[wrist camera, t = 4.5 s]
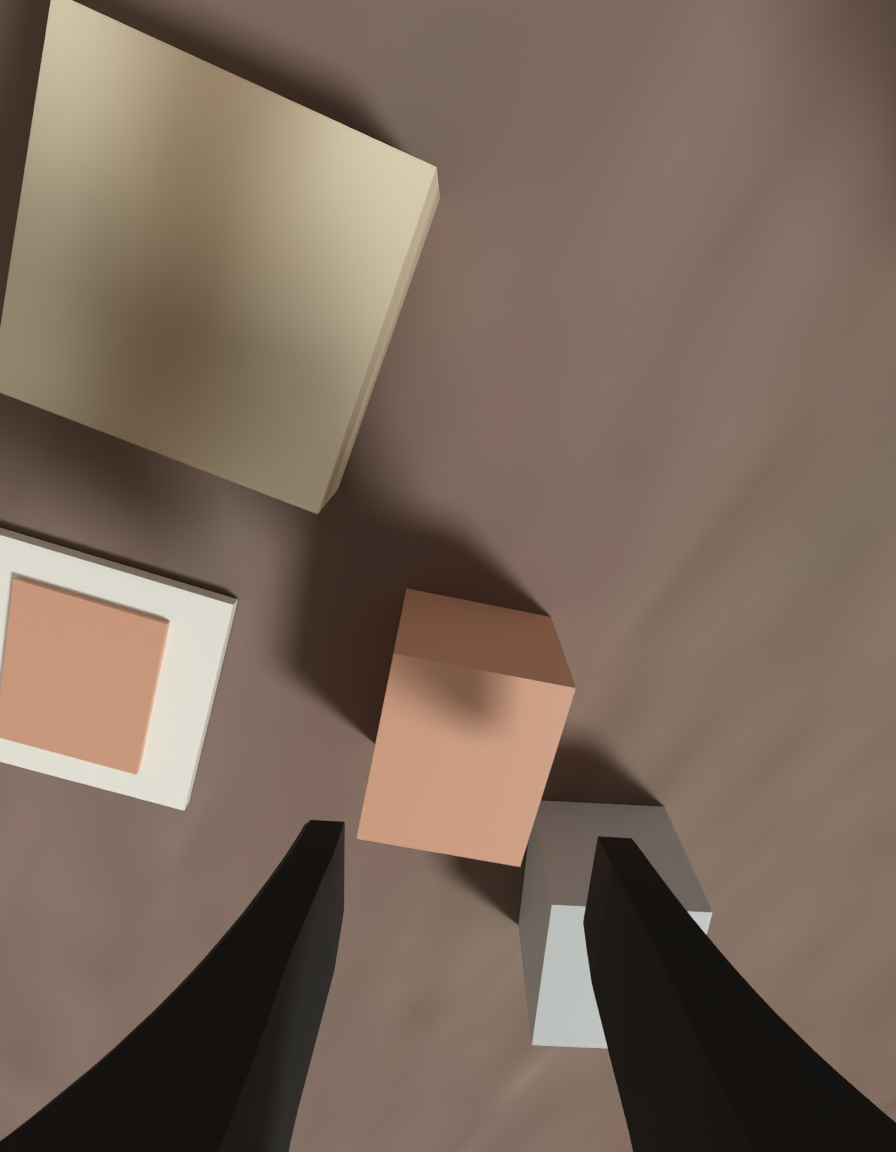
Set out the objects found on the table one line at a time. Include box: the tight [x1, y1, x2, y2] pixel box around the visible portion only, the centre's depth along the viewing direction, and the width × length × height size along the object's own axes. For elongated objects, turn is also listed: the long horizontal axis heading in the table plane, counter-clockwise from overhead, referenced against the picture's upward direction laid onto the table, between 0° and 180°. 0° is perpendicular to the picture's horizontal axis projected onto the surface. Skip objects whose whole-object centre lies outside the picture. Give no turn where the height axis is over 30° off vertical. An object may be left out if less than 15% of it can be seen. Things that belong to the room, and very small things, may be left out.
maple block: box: [0, 0, 440, 514], centre depth 14 cm, size 7×7×3 cm
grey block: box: [518, 801, 712, 1048], centre depth 19 cm, size 4×5×4 cm
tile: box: [0, 528, 238, 810], centre depth 18 cm, size 7×7×1 cm
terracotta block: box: [357, 588, 576, 867], centre depth 17 cm, size 4×5×4 cm
